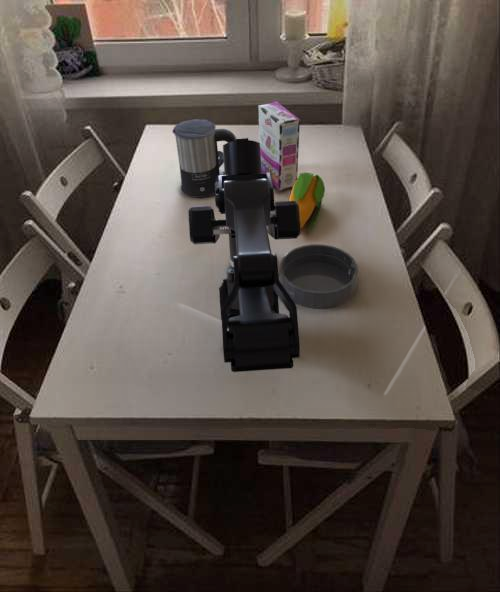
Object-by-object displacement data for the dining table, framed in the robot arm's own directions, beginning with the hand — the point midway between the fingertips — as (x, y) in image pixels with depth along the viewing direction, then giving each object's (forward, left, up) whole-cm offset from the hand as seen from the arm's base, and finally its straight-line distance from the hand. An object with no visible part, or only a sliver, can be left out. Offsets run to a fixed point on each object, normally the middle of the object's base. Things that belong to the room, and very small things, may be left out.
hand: (243, 231), depth 105 cm
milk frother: (+22, +26, -8) cm, 35 cm away
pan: (+2, -15, -8) cm, 17 cm away
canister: (-1, -1, -8) cm, 8 cm away
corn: (+20, -2, -8) cm, 21 cm away
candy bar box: (+31, +11, -8) cm, 34 cm away
